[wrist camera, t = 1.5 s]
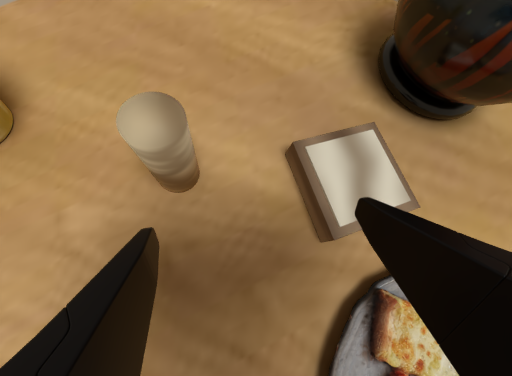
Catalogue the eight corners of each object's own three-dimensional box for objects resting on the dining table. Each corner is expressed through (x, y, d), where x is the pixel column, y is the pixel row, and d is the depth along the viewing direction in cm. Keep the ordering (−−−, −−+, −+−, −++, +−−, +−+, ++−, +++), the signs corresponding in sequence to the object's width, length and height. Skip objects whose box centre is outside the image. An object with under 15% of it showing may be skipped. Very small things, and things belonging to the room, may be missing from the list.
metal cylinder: (162, 197, 23) (122, 155, 14) (153, 160, 24) (110, 97, 15) (204, 186, 24) (193, 139, 15) (193, 151, 25) (177, 87, 16)
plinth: (321, 242, 24) (335, 240, 21) (285, 154, 27) (293, 140, 24) (399, 212, 27) (422, 206, 24) (359, 135, 29) (375, 120, 26)
